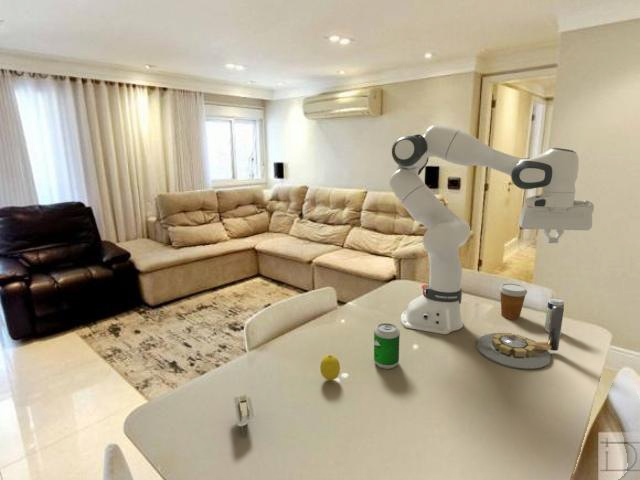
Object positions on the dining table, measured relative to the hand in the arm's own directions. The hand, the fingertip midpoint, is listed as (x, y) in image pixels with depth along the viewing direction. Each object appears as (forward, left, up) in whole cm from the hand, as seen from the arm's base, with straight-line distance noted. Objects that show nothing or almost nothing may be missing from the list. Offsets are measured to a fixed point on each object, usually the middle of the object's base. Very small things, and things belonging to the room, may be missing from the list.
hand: (552, 242), depth 121 cm
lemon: (-66, -40, -33) cm, 84 cm away
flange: (-12, -13, -33) cm, 38 cm away
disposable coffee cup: (-6, +15, -33) cm, 37 cm away
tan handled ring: (-8, -13, -32) cm, 35 cm away
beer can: (+5, +4, -33) cm, 34 cm away
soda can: (-51, -28, -33) cm, 67 cm away
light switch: (-82, -62, -34) cm, 108 cm away
